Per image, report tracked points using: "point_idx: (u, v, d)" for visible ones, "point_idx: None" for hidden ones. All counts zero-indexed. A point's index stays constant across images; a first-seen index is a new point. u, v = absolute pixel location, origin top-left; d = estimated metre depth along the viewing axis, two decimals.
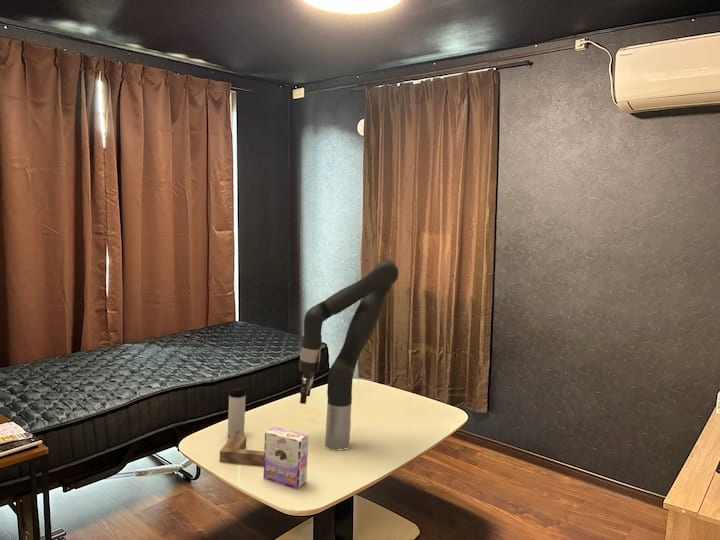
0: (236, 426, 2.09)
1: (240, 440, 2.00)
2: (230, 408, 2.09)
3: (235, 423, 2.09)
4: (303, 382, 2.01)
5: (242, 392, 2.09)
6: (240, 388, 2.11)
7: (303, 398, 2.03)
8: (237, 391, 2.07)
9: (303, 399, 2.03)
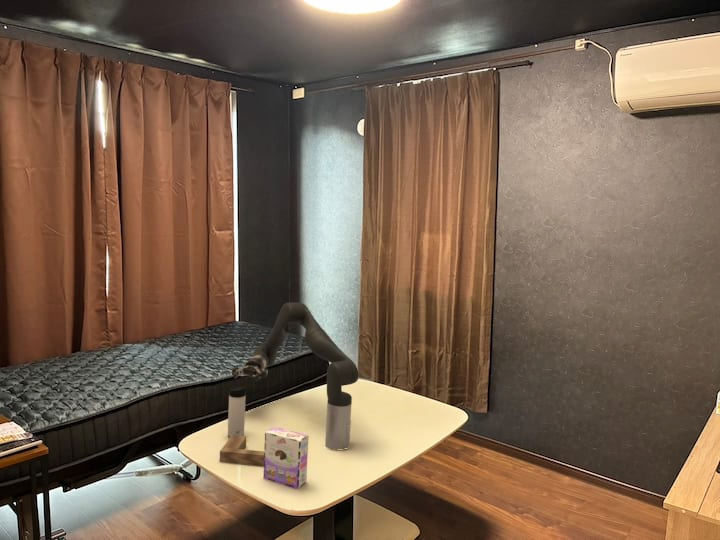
0: (236, 426, 2.09)
1: (240, 440, 2.00)
2: (230, 408, 2.09)
3: (235, 423, 2.09)
4: None
5: (242, 392, 2.09)
6: (240, 388, 2.11)
7: None
8: (237, 391, 2.07)
9: (234, 374, 2.23)
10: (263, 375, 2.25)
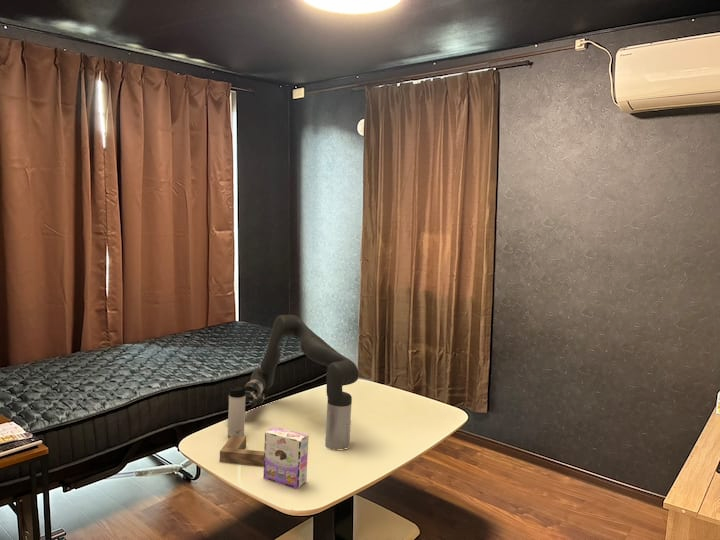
0: (236, 426, 2.09)
1: (240, 440, 2.00)
2: (230, 408, 2.09)
3: (235, 423, 2.09)
4: None
5: (242, 392, 2.09)
6: (240, 388, 2.11)
7: None
8: (237, 391, 2.07)
9: None
10: (259, 401, 2.21)
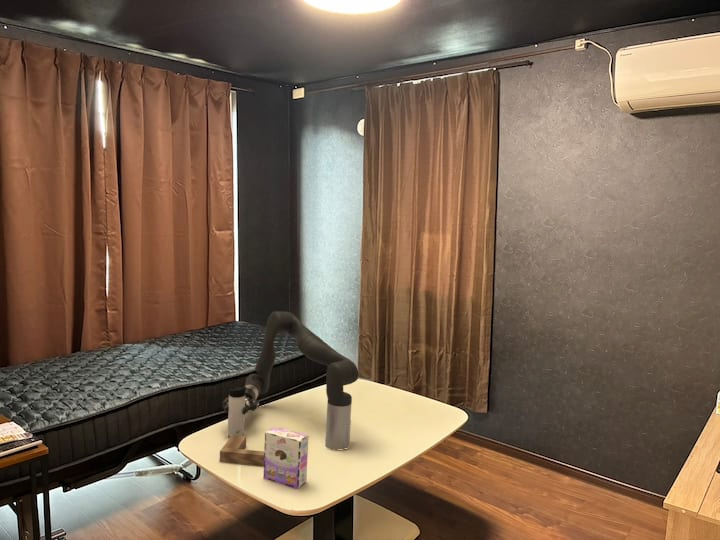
0: (236, 426, 2.09)
1: (240, 440, 2.00)
2: (229, 408, 2.09)
3: (235, 423, 2.09)
4: None
5: (242, 392, 2.08)
6: (240, 388, 2.11)
7: None
8: (237, 391, 2.07)
9: None
10: (252, 408, 2.13)
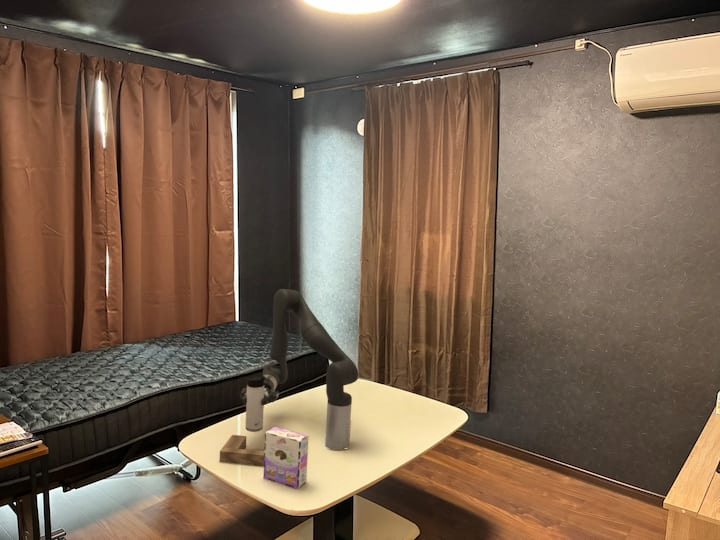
0: (255, 418, 1.96)
1: (240, 440, 2.00)
2: (248, 399, 1.96)
3: (254, 415, 1.96)
4: None
5: (261, 382, 1.95)
6: (258, 378, 1.98)
7: None
8: (256, 381, 1.94)
9: None
10: (271, 399, 2.00)
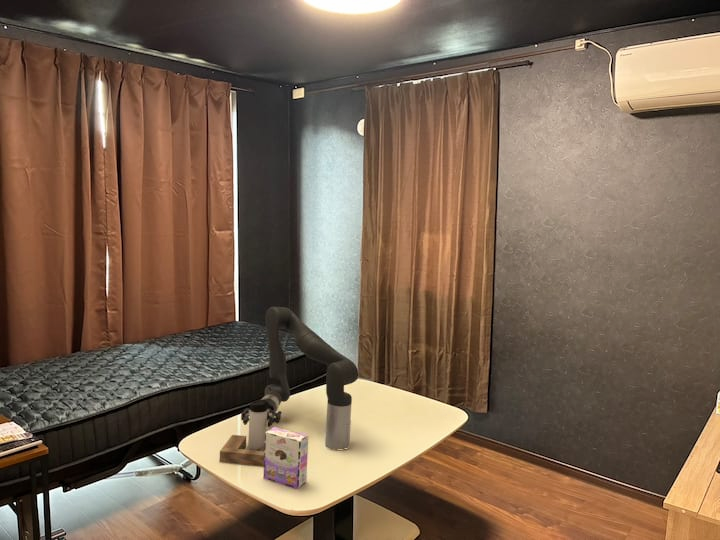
0: (258, 443, 1.95)
1: (240, 440, 2.00)
2: (250, 424, 1.95)
3: (257, 440, 1.95)
4: None
5: (264, 406, 1.95)
6: (262, 402, 1.98)
7: None
8: (259, 405, 1.94)
9: None
10: (276, 420, 1.99)
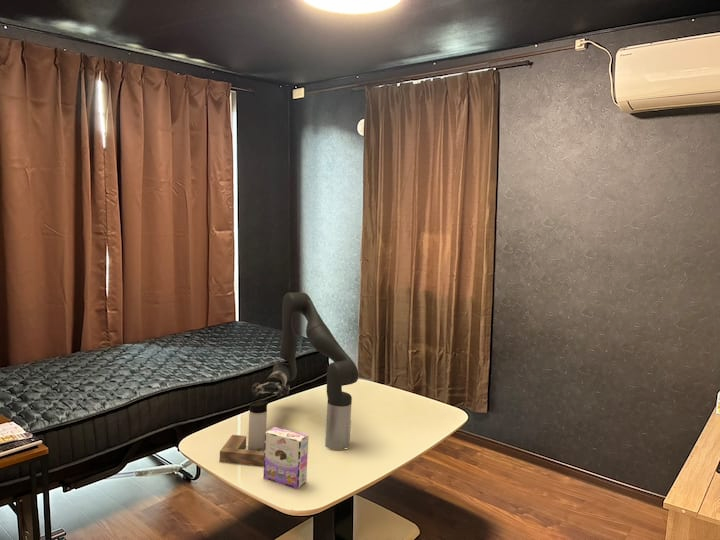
0: (257, 444, 1.95)
1: (240, 440, 2.00)
2: (250, 425, 1.95)
3: (256, 441, 1.95)
4: None
5: (263, 407, 1.95)
6: (261, 403, 1.97)
7: None
8: (258, 406, 1.93)
9: (254, 391, 2.09)
10: (285, 392, 2.11)
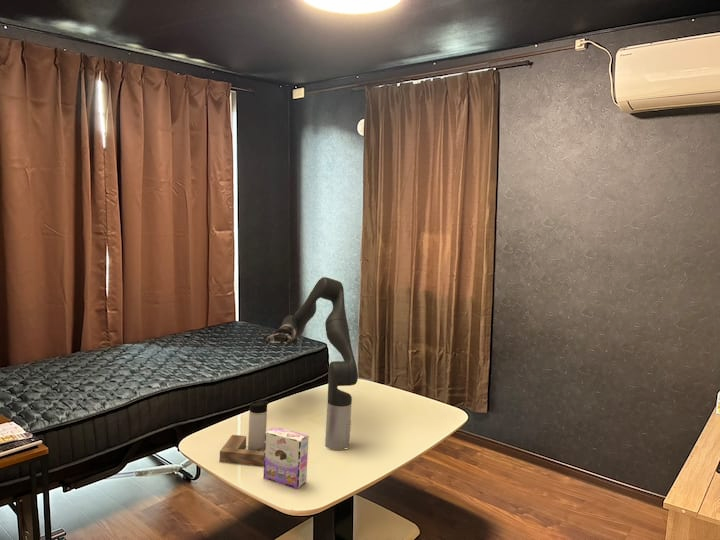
0: (257, 444, 1.95)
1: (240, 440, 2.00)
2: (250, 425, 1.95)
3: (256, 441, 1.95)
4: None
5: (264, 407, 1.95)
6: (261, 403, 1.97)
7: None
8: (258, 406, 1.94)
9: None
10: (295, 341, 2.25)
